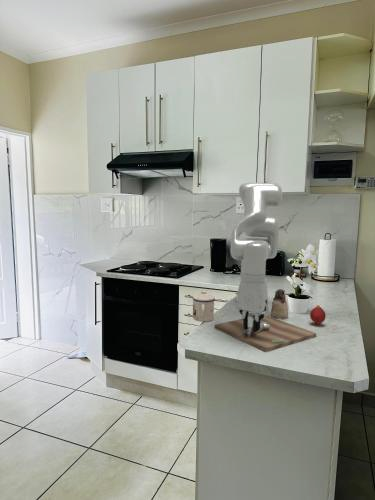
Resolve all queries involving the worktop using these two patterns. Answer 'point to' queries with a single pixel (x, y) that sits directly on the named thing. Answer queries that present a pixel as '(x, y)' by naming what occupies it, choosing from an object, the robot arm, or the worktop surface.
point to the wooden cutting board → (267, 333)
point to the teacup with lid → (203, 307)
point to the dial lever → (251, 324)
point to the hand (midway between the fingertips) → (251, 329)
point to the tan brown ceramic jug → (279, 305)
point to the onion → (317, 315)
